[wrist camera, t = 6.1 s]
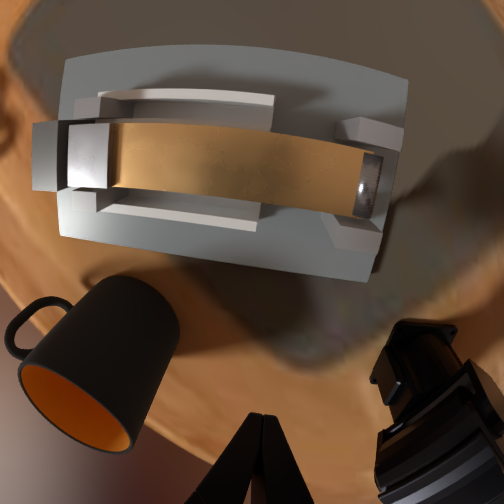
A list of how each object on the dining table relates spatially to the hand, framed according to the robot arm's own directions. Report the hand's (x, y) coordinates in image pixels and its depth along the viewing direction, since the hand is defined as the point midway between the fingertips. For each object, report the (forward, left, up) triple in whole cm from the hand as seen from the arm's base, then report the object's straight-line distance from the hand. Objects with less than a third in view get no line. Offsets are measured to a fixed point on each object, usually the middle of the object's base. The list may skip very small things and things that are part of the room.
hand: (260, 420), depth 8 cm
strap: (+3, -7, -8) cm, 11 cm away
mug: (+12, +7, -12) cm, 18 cm away
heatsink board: (+5, -7, -12) cm, 14 cm away
